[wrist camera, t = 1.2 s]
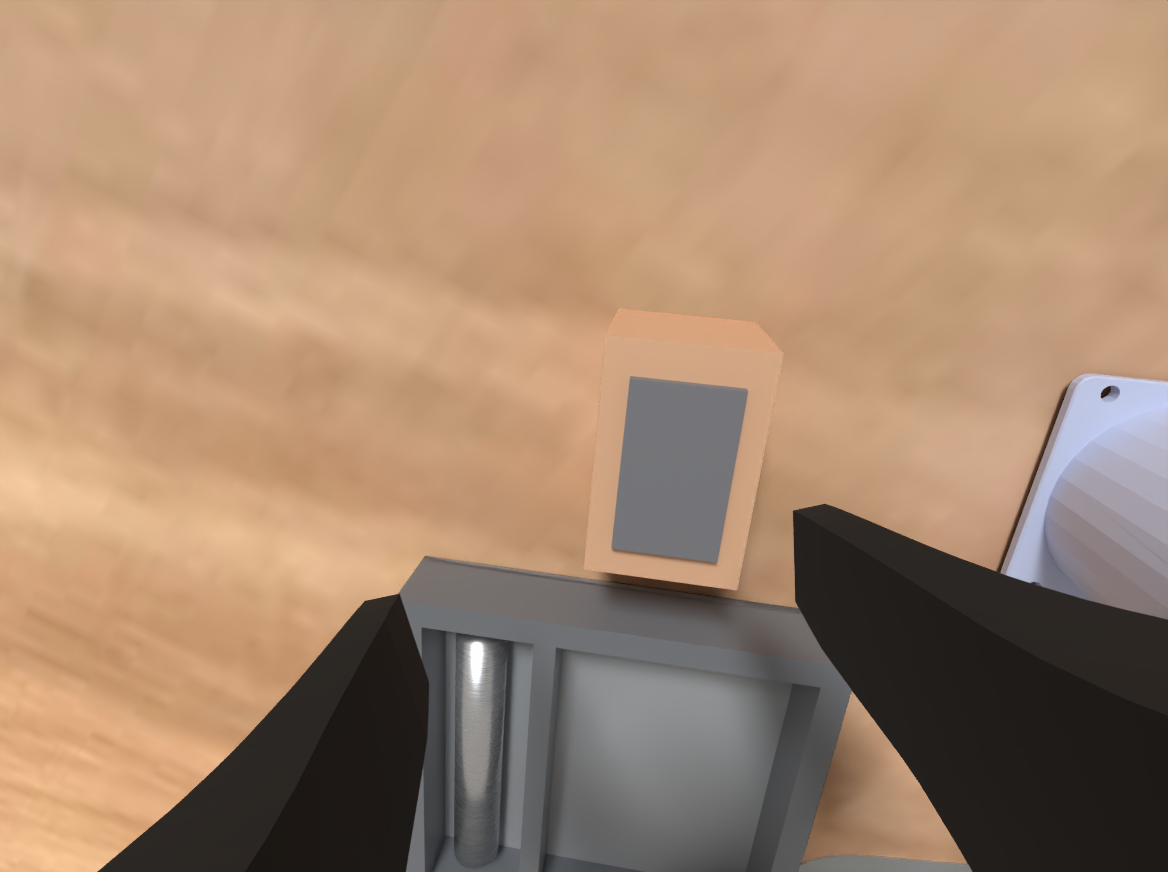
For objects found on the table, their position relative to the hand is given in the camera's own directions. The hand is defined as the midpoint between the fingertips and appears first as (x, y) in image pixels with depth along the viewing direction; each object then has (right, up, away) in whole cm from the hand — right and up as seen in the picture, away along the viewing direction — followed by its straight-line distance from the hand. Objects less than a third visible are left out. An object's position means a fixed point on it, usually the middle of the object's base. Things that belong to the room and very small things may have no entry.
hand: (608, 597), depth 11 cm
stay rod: (-5, -10, +15) cm, 19 cm away
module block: (+3, +4, +10) cm, 11 cm away
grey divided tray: (0, -10, +15) cm, 19 cm away
